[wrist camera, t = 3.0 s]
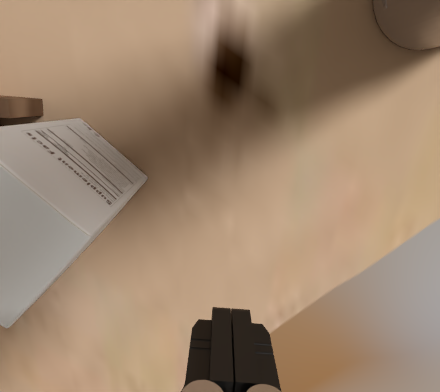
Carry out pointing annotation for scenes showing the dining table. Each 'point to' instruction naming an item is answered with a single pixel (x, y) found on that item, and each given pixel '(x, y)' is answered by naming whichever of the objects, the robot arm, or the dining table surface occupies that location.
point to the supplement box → (54, 203)
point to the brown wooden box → (20, 107)
